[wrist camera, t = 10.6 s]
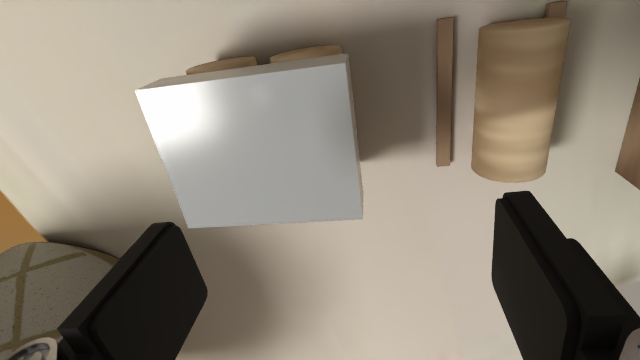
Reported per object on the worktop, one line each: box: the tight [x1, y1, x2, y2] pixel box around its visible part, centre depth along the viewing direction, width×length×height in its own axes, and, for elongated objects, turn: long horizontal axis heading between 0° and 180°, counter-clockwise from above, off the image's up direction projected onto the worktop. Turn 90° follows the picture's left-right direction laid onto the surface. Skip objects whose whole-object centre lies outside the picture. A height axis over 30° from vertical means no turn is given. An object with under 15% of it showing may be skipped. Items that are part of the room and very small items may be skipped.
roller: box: [471, 18, 570, 183], centre depth 20 cm, size 8×4×4 cm, turn 8°
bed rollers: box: [186, 1, 567, 167], centre depth 21 cm, size 9×21×4 cm, turn 98°
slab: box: [135, 53, 363, 228], centre depth 19 cm, size 8×10×2 cm
